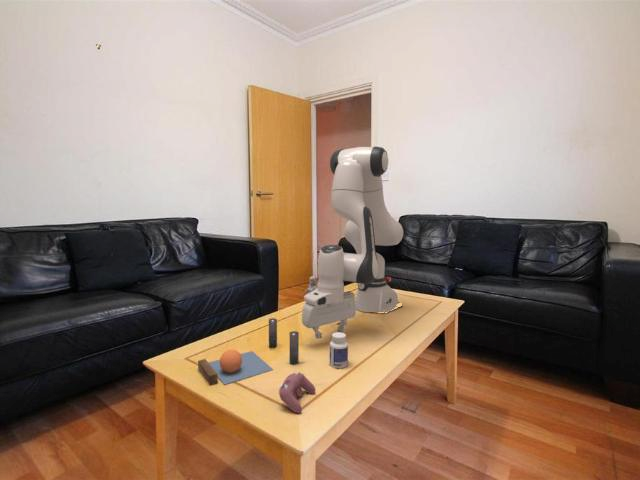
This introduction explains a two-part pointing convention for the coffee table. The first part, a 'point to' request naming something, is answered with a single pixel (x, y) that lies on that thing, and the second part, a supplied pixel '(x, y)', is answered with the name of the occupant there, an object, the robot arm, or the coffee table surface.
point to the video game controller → (295, 390)
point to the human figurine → (311, 285)
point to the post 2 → (294, 347)
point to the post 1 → (272, 333)
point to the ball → (230, 361)
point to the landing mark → (242, 368)
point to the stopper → (207, 372)
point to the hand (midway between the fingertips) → (329, 334)
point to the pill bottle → (338, 350)
